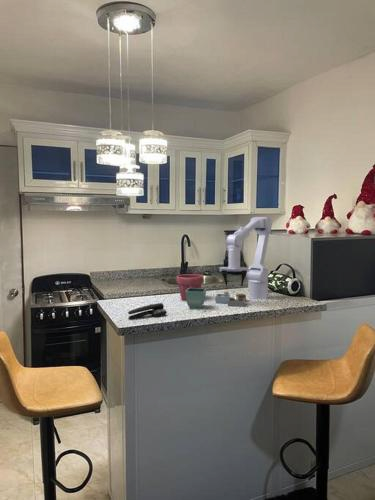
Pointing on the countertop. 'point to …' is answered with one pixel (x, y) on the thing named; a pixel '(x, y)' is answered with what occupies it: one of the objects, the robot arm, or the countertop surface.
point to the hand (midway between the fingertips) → (234, 285)
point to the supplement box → (265, 281)
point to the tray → (236, 302)
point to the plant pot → (188, 283)
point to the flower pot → (195, 297)
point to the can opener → (155, 312)
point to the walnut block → (241, 296)
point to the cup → (222, 298)
